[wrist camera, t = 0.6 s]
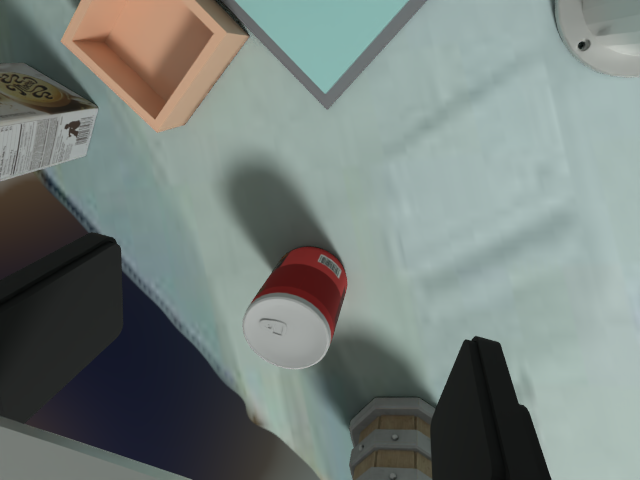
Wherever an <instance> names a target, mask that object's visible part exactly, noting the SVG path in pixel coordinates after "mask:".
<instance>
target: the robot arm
mask: <svg viewBox="0 0 640 480" xmlns="http://www.w3.org/2000/svg"><path fill="white" fill-rule="evenodd" d="M555 17H556V23H557V28H558V31H559V34H560V36H561V38H562V41H563V43H564V45H565V46H566V47H567V49H568V50H569V52H570V53H571V54H572V56H573V57H575V58H576V59H577V60H578V61H579V62H581V63H582V64H583V65H584V66H586V67H588V68H590V69H592V70H594V71H596V72H598V73H602V74H606V75H610V76H615V77H626V78H628V77H640V0H555ZM579 42H583V44H584V45H583V47H582V48H581V49H579V48H578V44H579ZM122 327H123V301H122V266H121V248H120V246H119V245H118V244H117V242H116V240H115V239H114V238H113V237H109V236H105V235H102V234H98V233H93V232H92V233H89V234H87V235H85V236H83V237H81V238H79V239H77V240H75V241H73V242H72V243H70V244H68V245H66V246H64V247H62V248H60V249H58V250H57V251H55V252H53V253H51V254H49V255H47V256H45V257H43V258H41V259H39V260H38V261H36V262H34V263H32V264H30V265H28V266H26V267H25V268H23V269H21V270H19V271H17V272H15V273H13V274H11V275H10V276H7V277H6V278H4V279H2V280H0V480H191V479H188V478H185V477H182V476H179V475H176V474H173V473H170V472H167V471H164V470H161V469H158V468H155V467H153V466H150V465H147V464H144V463H140V462H138V461H134V460H132V459H128V458H126V457H123V456H120V455H117V454H114V453H111V452H108V451H105V450H102V449H99V448H96V447H93V446H90V445H87V444H83V443H80V442H78V441H74V440H72V439H68V438H65V437H62V436H59V435H56V434H53V433H50V432H47V431H44V430H41V429H38V428H35V427H32V426H29V425H26V424H24V423H25V422H27V421H28V420H29V419H30V418H31V417H32V416H33V415H34V414H35V413H36V412H37V411H38V410H39V409H41V408H42V407H43V405H45V404H46V403H47V402H48V401H49V400H50V399H51V398H52V397H53V396H54V395H55V394H57V393H58V392H59V391H60V390H61V389H62V388H63V387H64V386H65V385H66V384H67V383H68V382H69V381H71V380H72V379H73V378H74V377H75V376H76V375H77V374H78V373H79V372H80V371H81V370H82V369H84V368H85V367H86V366H87V365H88V364H89V363H90V362H91V361H92V360H93V359H94V358H95V357H96V356H97V355H99V354H100V353H101V352H102V351H103V350H104V349H105V348H106V347H107V346H108V345H109V344H110V343H111V342H113V341H114V340H115V339H116V338H117V337H118V336H119V334H120V332H121V330H122ZM430 438H431V461H432V480H551V477H550V474H549V471H548V468H547V465H546V462H545V459H544V456H543V453H542V450H541V447H540V444H539V440H538V437H537V434H536V431H535V428H534V425H533V422H532V419H531V416H530V413H529V411H528V409H527V408H526V407H525V406H524V405H520V404H519V403H518V400H517V397H516V393H515V390H514V387H513V384H512V380H511V377H510V374H509V371H508V367H507V364H506V361H505V357H504V354H503V351H502V348H501V345H500V343H499V342H496V341H492V340H489V339H485V338H481V337H478V336H475V337H474V338H473V339H472V341H470V340H465V341H464V342H463V344H462V346H461V349H460V351H459V354H458V356H457V358H456V361H455V363H454V366H453V368H452V370H451V373H450V375H449V378H448V380H447V383H446V385H445V387H444V390H443V392H442V395H441V397H440V399H439V402H438V404H437V407H436V409H435V412H434V414H433V417H432V420H431V426H430Z"/></svg>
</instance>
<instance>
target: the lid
mask: <svg viewBox="0 0 640 480" xmlns="http://www.w3.org/2000/svg"><path fill="white" fill-rule="evenodd" d="M235 1H236V2H237V3H238V5H239V6H240V7H241V8H242V9H243V10H244V11H245V12H246V13H247V14H248V15H249V16H250V17H251V18H252V19H253V20H254V21H255V22H256V23H257V24H258V25H259V26H260V27H261V28H262V29H263V30H264V31H265V32H266V34H267V35H268V36H269V37H270V38H271V39H272V40H273V41H274V42H275V43H276V44H277V45H278V46H279V47H280V48H281V49H282V50H283V51H284V52H285V53H286V54H287V55H288V56H289V57H290V58H291V59H292V60H293V61H294V62H295V64H296V65H297V66H298V67H299V68H300V69H301V70H302V71H303V72H304V73H305V74H306V75H307V76H308V77H309V78H310V79H311V80H312V81H313V82H314V83H315V84H316V85H317V86H318V87H319V88H320V89H321V90H322V91H323V92H324V94H326V93H327V92H328V91H329V90H330V89H331V88H332V87H333V86H334V84H335V83H336V82H337V81H338V80H339V79H340V78H341V77H342V75H343V74H344V73H345V72H346V71H347V70H348V69H349V68H350V66H351V65H352V64H353V63H354V62H355V61H356V60H357V59H358V57H359V56H360V55H361V54H362V53H363V52H364V51H365V50H366V48H367V47H368V46H369V45H370V44H371V43H372V42H373V41H374V39H375V38H376V37H377V36H378V35H379V34H380V33H381V32H382V30H383V29H384V28H385V27H386V26H387V25H388V24H389V23H390V21H391V20H392V19H393V18H394V17H395V16H396V15H397V14H398V12H399V11H400V10H401V9H402V8H403V7H404V6H405V5H406V4H407V2H408V1H409V0H235Z"/></svg>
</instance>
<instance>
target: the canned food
mask: <svg viewBox="0 0 640 480" xmlns="http://www.w3.org/2000/svg"><path fill="white" fill-rule="evenodd" d="M346 289H347V277H346V273H345V270H344V268H343V266H342V264H341V263H340V262H339V260H338V259H337V258H336V257H335V256H334V255H332V254H331V253H329V252H328V251H326V250H323V249H321V248H317V247H300V248H297V249H294V250H292V251H290V252H289V253H287V254H286V255H285V256H284V257H282V259H281V260H280V262H279V263H278V264H277V266H276V267H275V269H274V270H273V272H272V273H271V275H270V276H269V277H268V279H267V280H266V282H265V283H264V285H263V286H262V288H261V289H260V290H259V292H258V293H257V295H256V296H255V298H254V299H253V301H252V302H251V304H250V306H249V307H248V309H247V311H246V313H245V315H244V318H243V333H244V336H245V338H246V341H247V342H248V344H249V346H250V347H251V348H252V349H253V351H254V352H255V353H256V354H257V355H259V356H260V357H261V358H262V359H264V360H266V361H267V362H269V363H271V364H273V365H276V366H279V367H282V368H287V369H302V368H307V367H310V366H312V365H315V364H316V363H318V362H319V361H320V360H321V359H322V358H323V357H324V356H325V354H326V352H327V350H328V348H329V346H330V343H331V340H332V337H333V334H334V331H335V327H336V324H337V321H338V317H339V314H340V310H341V307H342V304H343V300H344V297H345V293H346Z"/></svg>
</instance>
